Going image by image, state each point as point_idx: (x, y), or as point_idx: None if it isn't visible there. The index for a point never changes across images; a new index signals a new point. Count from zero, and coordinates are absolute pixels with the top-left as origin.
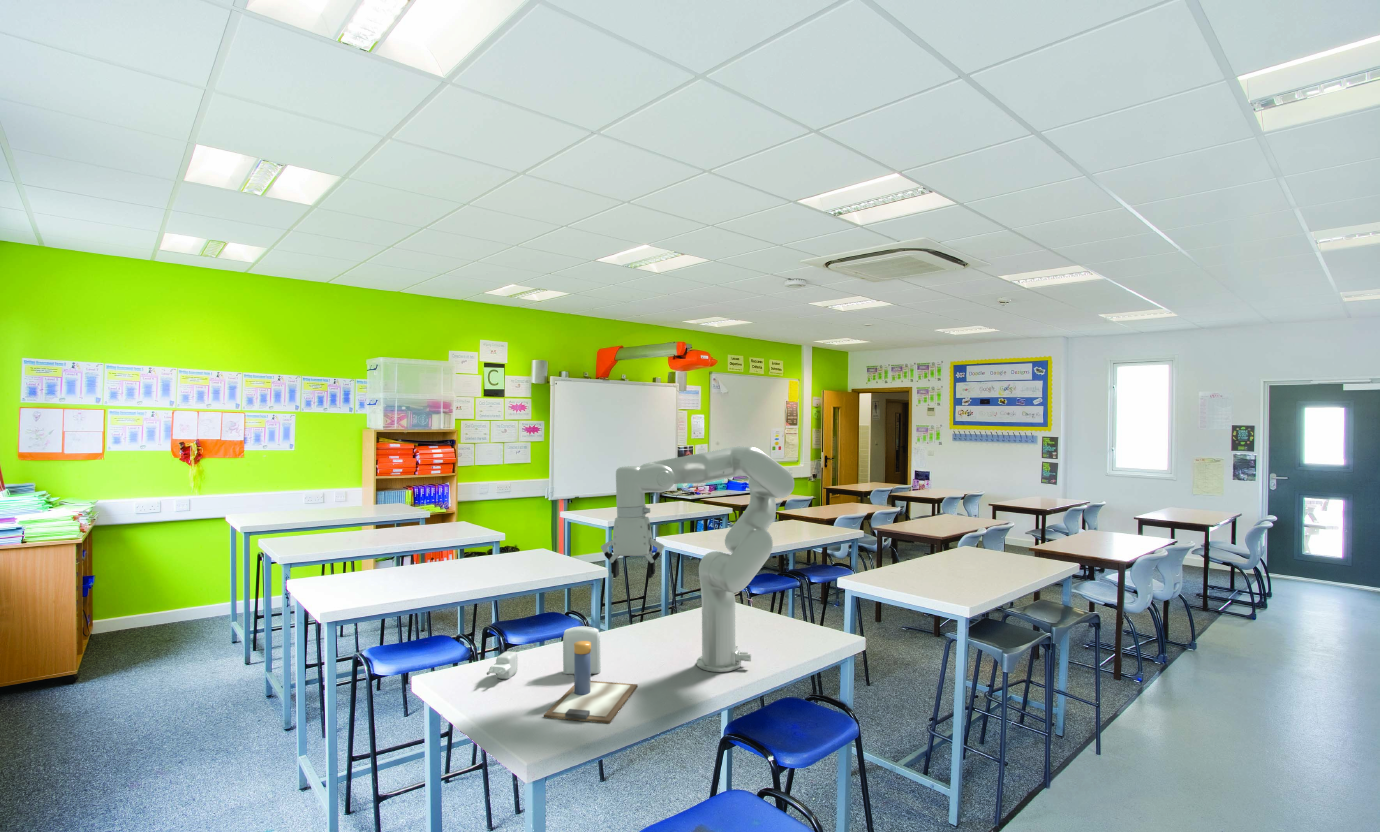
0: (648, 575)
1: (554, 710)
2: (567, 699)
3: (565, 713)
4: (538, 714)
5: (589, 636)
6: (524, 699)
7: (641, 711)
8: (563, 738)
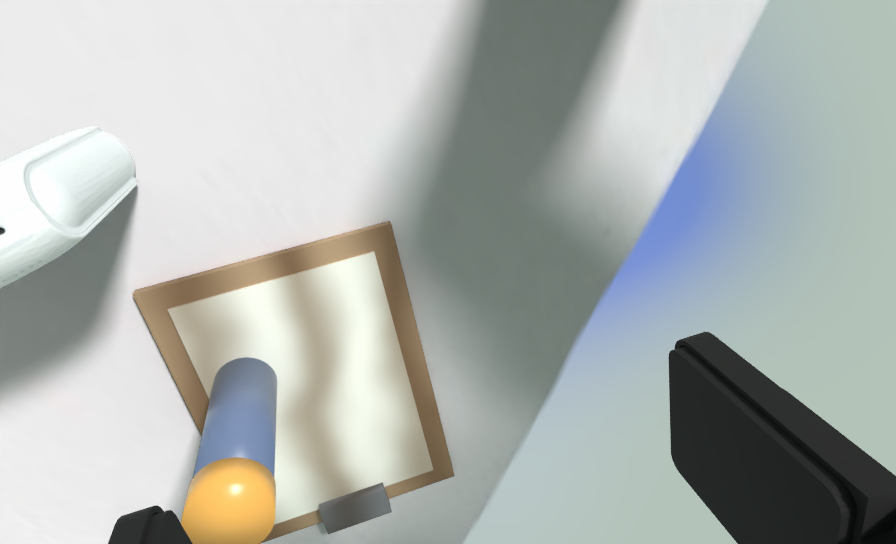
0: (695, 483)
1: None
2: None
3: (329, 533)
4: None
5: (36, 268)
6: (81, 496)
7: (498, 376)
8: None
